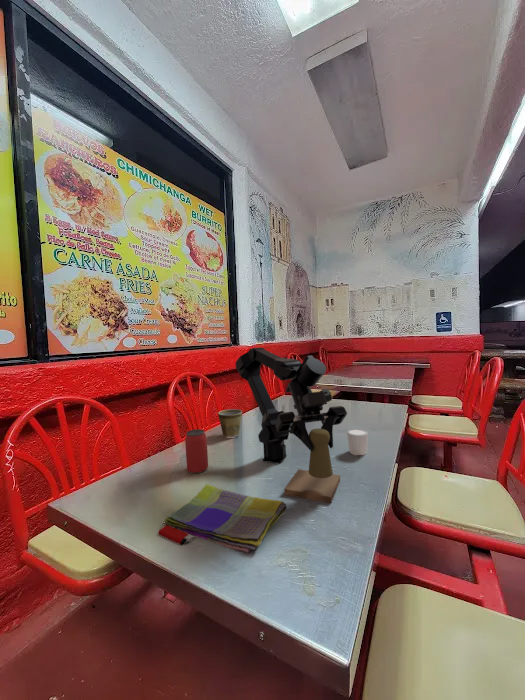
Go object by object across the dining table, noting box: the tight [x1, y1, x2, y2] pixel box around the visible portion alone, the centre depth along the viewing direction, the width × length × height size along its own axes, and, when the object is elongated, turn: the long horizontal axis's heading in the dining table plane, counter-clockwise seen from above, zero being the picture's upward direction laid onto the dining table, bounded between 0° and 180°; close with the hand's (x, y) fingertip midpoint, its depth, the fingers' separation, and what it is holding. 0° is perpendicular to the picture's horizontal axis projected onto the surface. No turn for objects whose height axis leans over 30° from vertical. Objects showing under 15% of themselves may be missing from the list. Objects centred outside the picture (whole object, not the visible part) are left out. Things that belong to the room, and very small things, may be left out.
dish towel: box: [163, 484, 288, 554], centre depth 69 cm, size 18×24×3 cm
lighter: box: [158, 524, 196, 546], centre depth 63 cm, size 3×1×8 cm
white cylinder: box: [346, 428, 369, 456], centre depth 102 cm, size 7×7×7 cm
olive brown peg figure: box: [308, 428, 334, 478], centre depth 76 cm, size 6×6×11 cm
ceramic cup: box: [217, 408, 243, 438], centre depth 128 cm, size 13×10×10 cm
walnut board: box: [283, 468, 341, 504], centre depth 80 cm, size 12×12×2 cm
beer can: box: [184, 428, 209, 474], centre depth 95 cm, size 7×7×12 cm
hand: (322, 448), depth 75 cm, fingers closed on olive brown peg figure, 5 cm apart
